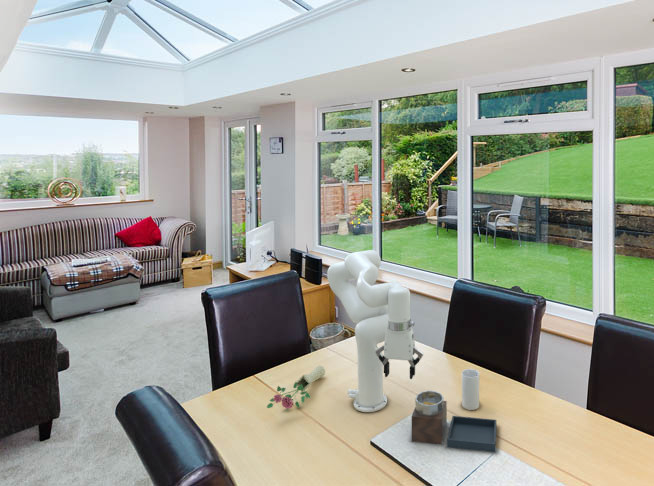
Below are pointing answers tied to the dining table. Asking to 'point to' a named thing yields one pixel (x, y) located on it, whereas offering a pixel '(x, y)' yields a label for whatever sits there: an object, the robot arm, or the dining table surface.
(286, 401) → the flower vase
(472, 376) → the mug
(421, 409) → the bowl
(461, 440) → the tray
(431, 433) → the block
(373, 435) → the dining table surface
